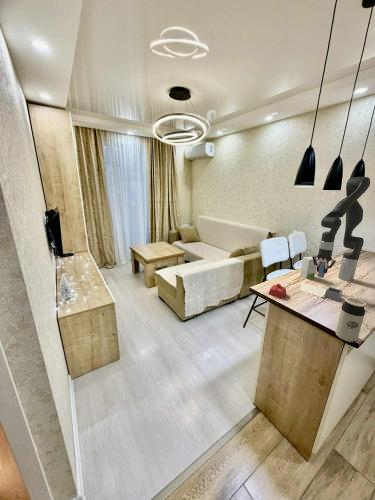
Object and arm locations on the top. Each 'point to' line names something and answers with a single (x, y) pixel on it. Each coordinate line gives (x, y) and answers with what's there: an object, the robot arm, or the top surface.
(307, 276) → the skincare box
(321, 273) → the marker
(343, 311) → the travel mug
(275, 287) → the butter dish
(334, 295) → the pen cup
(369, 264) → the top surface
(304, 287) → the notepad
